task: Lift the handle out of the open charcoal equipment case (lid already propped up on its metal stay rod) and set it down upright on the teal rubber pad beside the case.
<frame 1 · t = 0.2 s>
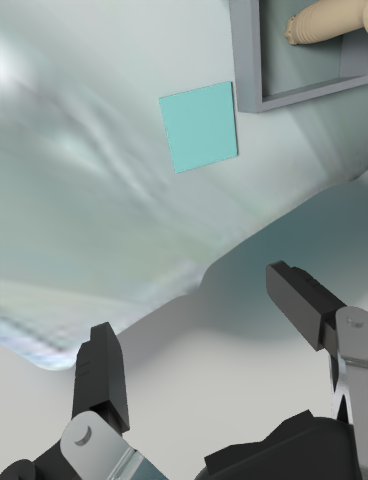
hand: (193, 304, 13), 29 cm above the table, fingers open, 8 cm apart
case: (293, 30, 35), on the table
handle: (292, 30, 35), resting in case
pad: (200, 129, 37), on the table
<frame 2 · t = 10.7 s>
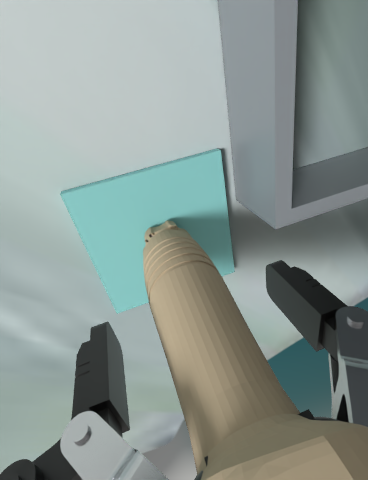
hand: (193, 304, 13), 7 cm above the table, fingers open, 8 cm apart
case: (356, 42, 16), on the table
handle: (163, 238, 18), resting on pad
pad: (161, 236, 19), on the table
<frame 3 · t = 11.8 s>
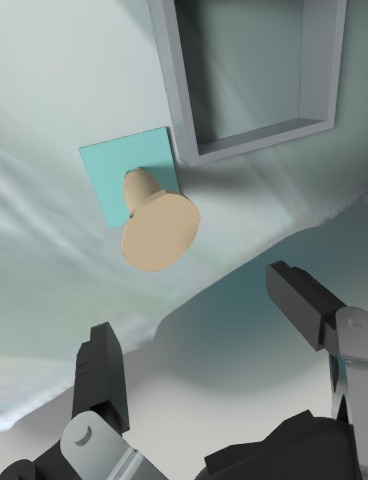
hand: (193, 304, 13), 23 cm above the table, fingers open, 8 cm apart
case: (239, 68, 30), on the table
handle: (136, 179, 32), resting on pad
pad: (135, 179, 32), on the table
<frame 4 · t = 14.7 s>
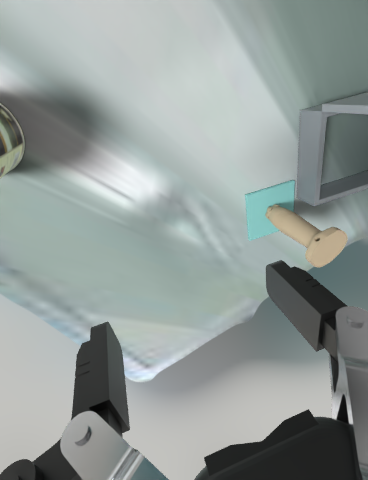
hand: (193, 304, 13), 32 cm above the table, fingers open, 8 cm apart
case: (339, 145, 49), on the table
handle: (271, 211, 51), resting on pad
pad: (269, 210, 51), on the table
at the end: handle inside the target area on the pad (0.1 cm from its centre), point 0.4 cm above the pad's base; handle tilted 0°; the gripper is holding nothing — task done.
